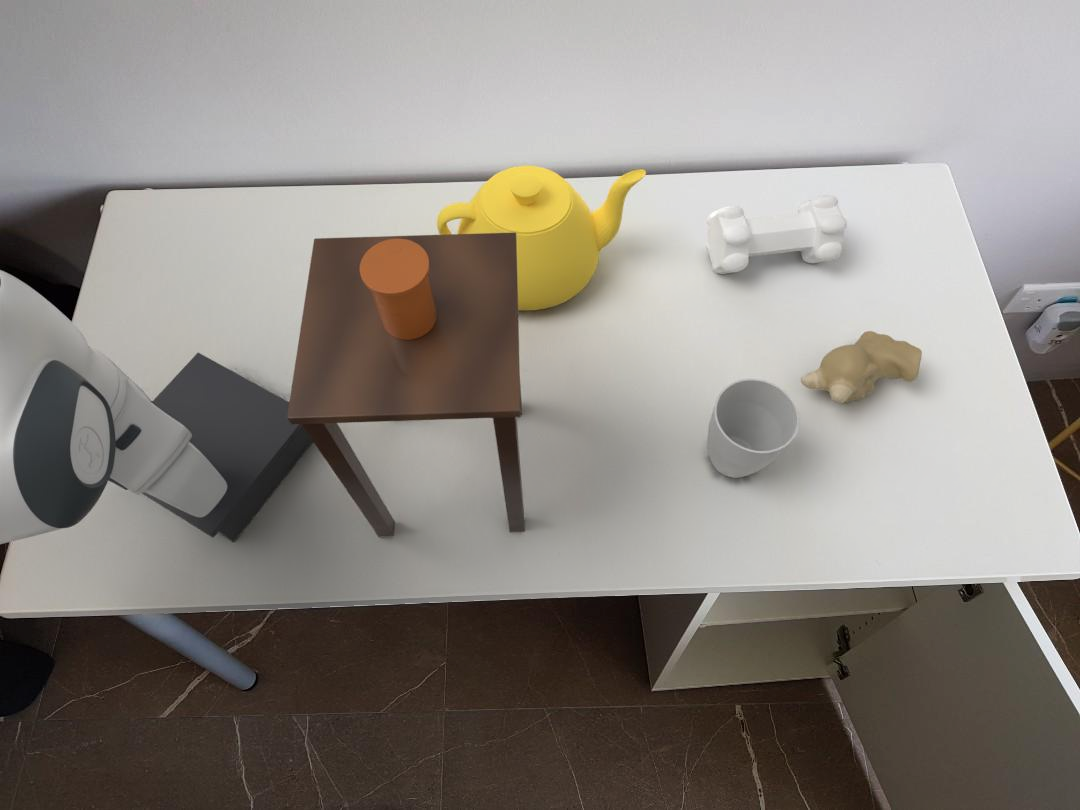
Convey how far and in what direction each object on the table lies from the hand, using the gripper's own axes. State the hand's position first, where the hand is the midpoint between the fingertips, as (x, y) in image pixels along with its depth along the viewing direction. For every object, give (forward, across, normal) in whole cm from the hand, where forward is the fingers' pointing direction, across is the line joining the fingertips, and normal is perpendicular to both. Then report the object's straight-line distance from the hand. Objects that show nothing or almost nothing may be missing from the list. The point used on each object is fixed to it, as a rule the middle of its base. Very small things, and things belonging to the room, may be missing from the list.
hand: (163, 475), depth 70 cm
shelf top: (-22, +23, +17) cm, 36 cm away
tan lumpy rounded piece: (+6, +57, +48) cm, 75 cm away
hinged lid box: (+6, 0, +6) cm, 8 cm away
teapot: (+6, +17, +46) cm, 49 cm away
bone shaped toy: (+6, +42, +61) cm, 74 cm away
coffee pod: (-22, +23, +17) cm, 36 cm away
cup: (+6, +49, +33) cm, 59 cm away
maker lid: (+2, 0, +5) cm, 6 cm away
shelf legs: (+6, +23, +17) cm, 29 cm away
